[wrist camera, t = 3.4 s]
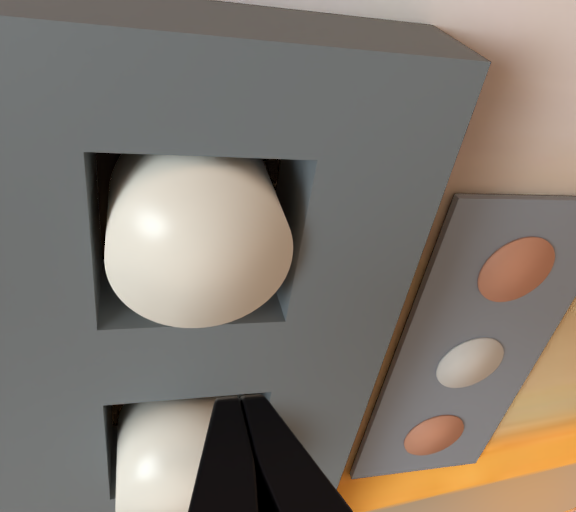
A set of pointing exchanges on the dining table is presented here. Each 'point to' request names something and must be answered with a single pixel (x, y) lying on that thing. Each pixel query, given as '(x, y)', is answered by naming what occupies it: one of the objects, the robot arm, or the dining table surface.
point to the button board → (213, 143)
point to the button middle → (160, 453)
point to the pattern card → (472, 331)
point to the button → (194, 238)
